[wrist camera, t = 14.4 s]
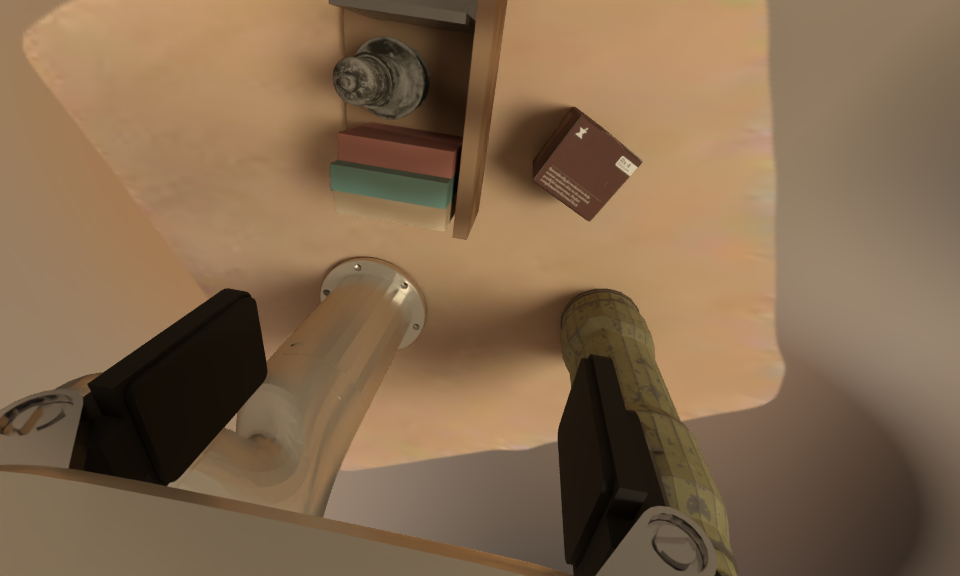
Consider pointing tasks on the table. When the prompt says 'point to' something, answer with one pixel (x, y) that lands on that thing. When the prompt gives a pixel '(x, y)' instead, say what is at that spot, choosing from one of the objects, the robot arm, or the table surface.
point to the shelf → (423, 129)
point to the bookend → (418, 12)
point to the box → (583, 164)
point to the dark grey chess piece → (383, 78)
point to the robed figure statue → (648, 407)
